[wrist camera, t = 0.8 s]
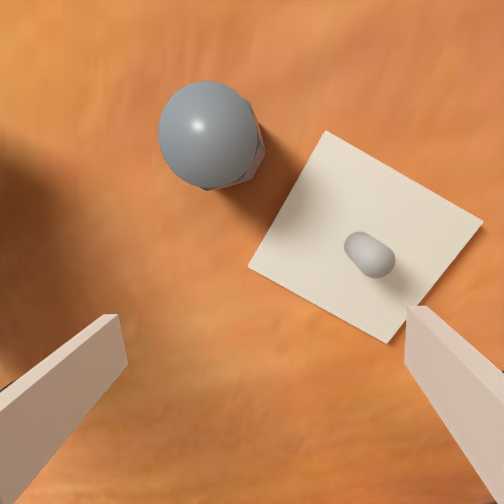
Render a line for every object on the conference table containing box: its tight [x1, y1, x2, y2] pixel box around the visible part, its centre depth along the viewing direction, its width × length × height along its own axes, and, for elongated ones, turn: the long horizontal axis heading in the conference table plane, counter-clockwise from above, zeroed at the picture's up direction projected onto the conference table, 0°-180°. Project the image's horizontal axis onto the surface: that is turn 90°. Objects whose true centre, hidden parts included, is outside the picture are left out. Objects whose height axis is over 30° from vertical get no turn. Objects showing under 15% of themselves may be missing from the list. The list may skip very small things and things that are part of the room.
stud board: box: [248, 131, 484, 344], centre depth 28 cm, size 18×16×8 cm
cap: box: [158, 81, 266, 191], centre depth 26 cm, size 8×8×9 cm
